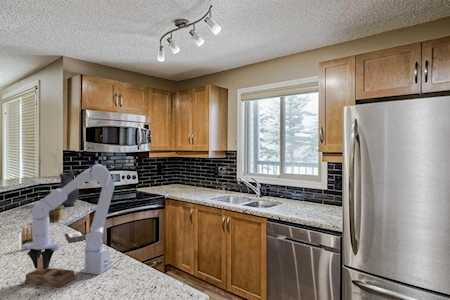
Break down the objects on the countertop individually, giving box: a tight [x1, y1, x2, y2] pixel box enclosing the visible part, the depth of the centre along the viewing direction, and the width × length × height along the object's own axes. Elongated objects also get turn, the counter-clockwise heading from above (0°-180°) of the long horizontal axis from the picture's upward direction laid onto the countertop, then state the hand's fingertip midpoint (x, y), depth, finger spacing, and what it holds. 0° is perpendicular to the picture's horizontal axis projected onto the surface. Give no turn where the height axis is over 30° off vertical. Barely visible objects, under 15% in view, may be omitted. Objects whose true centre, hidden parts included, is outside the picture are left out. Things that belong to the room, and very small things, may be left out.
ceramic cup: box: [49, 204, 65, 224], centre depth 204 cm, size 13×10×10 cm
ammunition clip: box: [21, 224, 33, 252], centre depth 151 cm, size 11×2×12 cm, turn 130°
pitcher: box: [57, 170, 80, 208], centre depth 256 cm, size 17×21×30 cm
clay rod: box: [36, 255, 47, 275], centre depth 116 cm, size 3×3×6 cm
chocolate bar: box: [65, 230, 86, 244], centre depth 169 cm, size 9×1×18 cm
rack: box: [24, 267, 76, 288], centre depth 115 cm, size 16×8×3 cm, turn 75°
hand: (41, 267), depth 116 cm, fingers closed on clay rod, 3 cm apart
